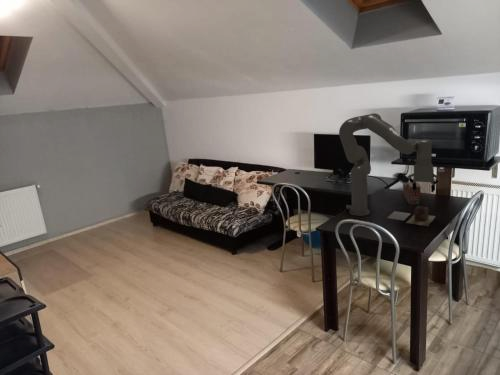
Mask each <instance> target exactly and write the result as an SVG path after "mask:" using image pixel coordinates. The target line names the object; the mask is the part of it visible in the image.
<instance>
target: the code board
mask: <svg viewBox="0 0 500 375" xmlns="http://www.w3.org/2000/svg"><path fill="white" fill-rule="evenodd" d="M414 215H415V213H414V214H413V215H412V216H411V217H410V218H408V220H407V221H405V223H406V224H413V225H417V226H418V225H419V226H425V227H429V226H430V224H431V223H432V222H433V221H434V219H436V215H429V214H428V219H427V220H426V221H425V222H423V221H416V220H414Z"/></svg>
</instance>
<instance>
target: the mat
mask: <svg viewBox="0 0 500 375" xmlns="http://www.w3.org/2000/svg"><path fill="white" fill-rule="evenodd" d="M410 215H411V213H410V212H409V213H408V212H401V211H395V210H394V211H393V212H392V213H391V214H389V215H388V217H386V219H390V220H397V221H405V220H406V219H407V218H408V217H409V216H410Z"/></svg>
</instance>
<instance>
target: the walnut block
mask: <svg viewBox="0 0 500 375" xmlns="http://www.w3.org/2000/svg"><path fill="white" fill-rule="evenodd" d="M414 214H415V215H414ZM414 214H413V215H414V220H416V221H423V222H425V221H426V220H427V219H428V215H429V207H428V206H421V205H420V206H419V205H417V206H416V207H415V208H414Z"/></svg>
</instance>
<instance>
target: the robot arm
mask: <svg viewBox="0 0 500 375" xmlns="http://www.w3.org/2000/svg"><path fill="white" fill-rule="evenodd" d="M360 130H369V131H371V132H373V133H374V134H375V135H377V136H378V137H380V138H382V139H383V140H384V141H385V142H386V143H387V144H388V145H390V146H391V147H392V148H393V149H395V150H397V151H398V152H400V153H401V154H403V155H406V156H408V155H411V154H413V153H414V152H416V158H414V159H413V162H414V163H415V164H414V167H413V168H414V169H413V173H411V174H409V175H408V176H407V178H408V180H409V181H408V182H411V183H412V184H413V191H415V190H416V183H418V182H419V183H431V185H430V186H431V187H430V189H431V190H430V191H431V193H434V191H436V184H438V183H439V181H440V180H441V177H440V176H439V175H437V174H435V172H434V164H433V163H432V146H433V144H432V143H433V142H432V140H431V139H426V138H424V139H415V138H414V139H413V138H408V139H406V138H404V137H403V136H401V135H400V134H399V133H398V132H397V131H396V129H395V127H394V126H393V125H392V124H389V123H388V122H386V121H385V120H383V119H382V116H381V115H380V114H378V113H375V112H373V113H370V114H364V115H363V114H362V115H359V116H353V117H351V118H348V119H346V120H345V121H344V122H343V123H342V124H341V125H340V127H339V130H338V135H339V139H340V142H341V144H342V147H343V148H342V149H343V151H344V154H345V157H346V159H347V161H348V162H349V163H351V164H354V165H353V167H352V168H351V169H350V181H351V205H350V204H346V206H345V208H346V210H347V209H348V210H349V212H348V213H349V214H350V215H352V216H355V215H356V216H355V217H365V216H368V215H370V213H371V211H370V210H369V209H368V180H367V179H368V178H367V177H368V175H369V174H371V171H372V167H371V166H372V165H371V163H370V160H369V157H368V153H367V151H366V150H365V148H364V147H363V146H361V145H358V142H357V139H356V137H355V136H354V133H355V132H357V131H360Z"/></svg>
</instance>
